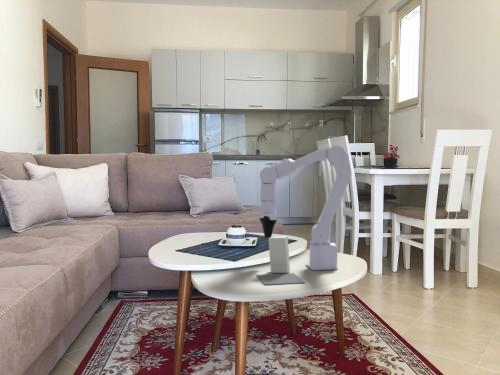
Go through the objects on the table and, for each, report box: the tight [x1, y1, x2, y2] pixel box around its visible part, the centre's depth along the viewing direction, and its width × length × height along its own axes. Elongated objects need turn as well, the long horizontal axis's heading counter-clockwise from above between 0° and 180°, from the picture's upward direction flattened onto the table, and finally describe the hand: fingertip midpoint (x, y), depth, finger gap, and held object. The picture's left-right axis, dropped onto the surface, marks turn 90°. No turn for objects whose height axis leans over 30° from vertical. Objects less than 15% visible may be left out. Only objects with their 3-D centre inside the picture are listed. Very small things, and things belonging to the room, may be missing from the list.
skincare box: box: [268, 235, 291, 274], centre depth 143 cm, size 6×4×12 cm
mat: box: [255, 272, 306, 286], centre depth 134 cm, size 13×11×1 cm
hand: (267, 237), depth 153 cm, fingers closed
